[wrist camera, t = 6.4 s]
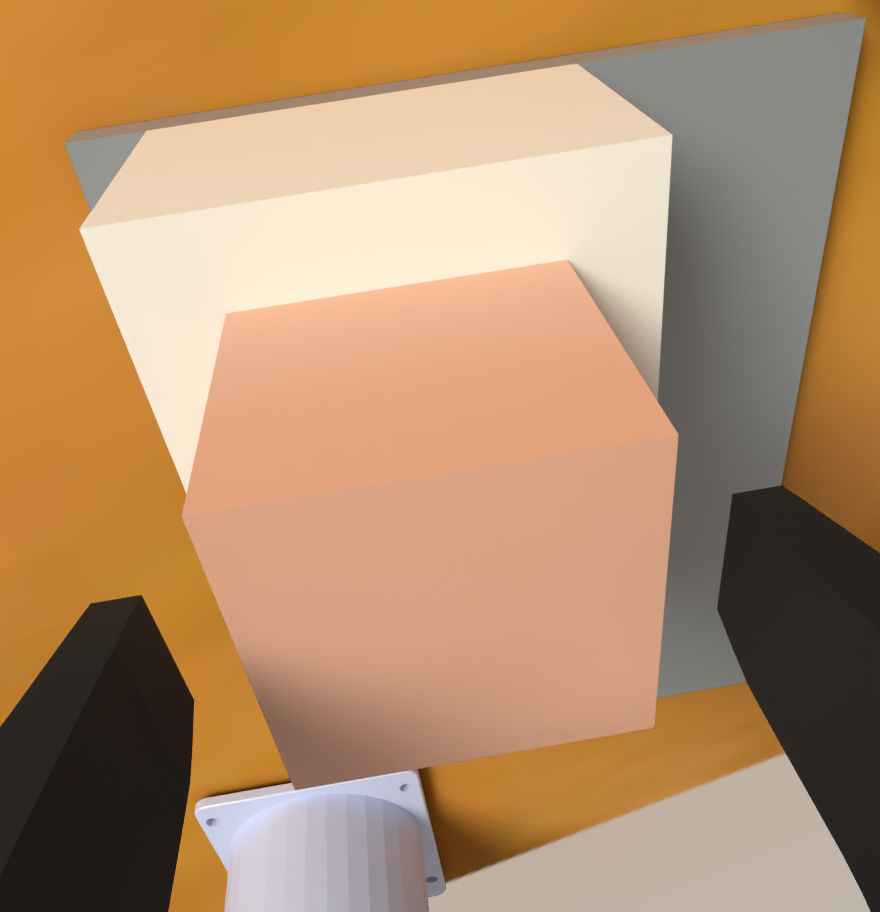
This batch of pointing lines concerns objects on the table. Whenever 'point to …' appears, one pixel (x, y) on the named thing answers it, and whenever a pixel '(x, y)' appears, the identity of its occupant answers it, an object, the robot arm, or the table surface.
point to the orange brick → (436, 521)
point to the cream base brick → (378, 215)
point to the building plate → (694, 265)
